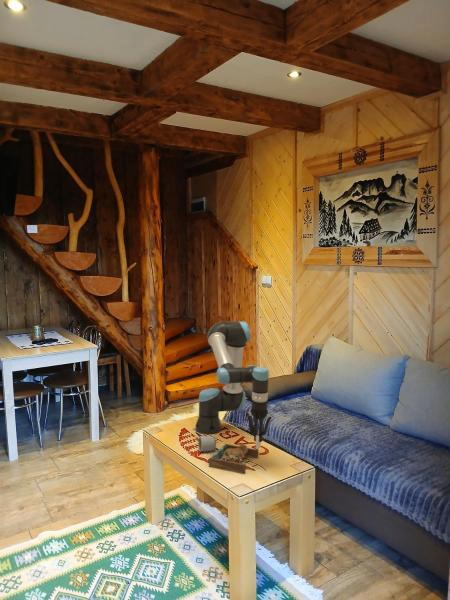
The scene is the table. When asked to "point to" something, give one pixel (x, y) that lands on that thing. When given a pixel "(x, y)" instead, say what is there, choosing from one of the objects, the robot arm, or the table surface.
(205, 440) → the ceramic mug
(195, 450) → the table surface
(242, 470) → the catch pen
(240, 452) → the lion figurine
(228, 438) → the table surface
